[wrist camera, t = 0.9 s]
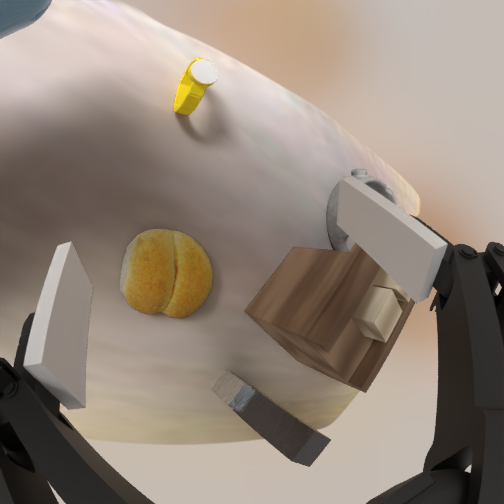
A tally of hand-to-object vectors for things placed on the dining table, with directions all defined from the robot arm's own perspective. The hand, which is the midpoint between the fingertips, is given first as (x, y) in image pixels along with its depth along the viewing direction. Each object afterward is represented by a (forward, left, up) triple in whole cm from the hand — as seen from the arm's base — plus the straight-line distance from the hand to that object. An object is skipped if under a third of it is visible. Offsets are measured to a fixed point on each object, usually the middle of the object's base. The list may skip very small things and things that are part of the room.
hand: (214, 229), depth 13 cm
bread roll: (+4, -2, -16) cm, 17 cm away
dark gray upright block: (+20, -7, -16) cm, 27 cm away
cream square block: (+20, +8, -6) cm, 23 cm away
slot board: (+20, +9, -16) cm, 28 cm away
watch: (-8, +12, -16) cm, 22 cm away
